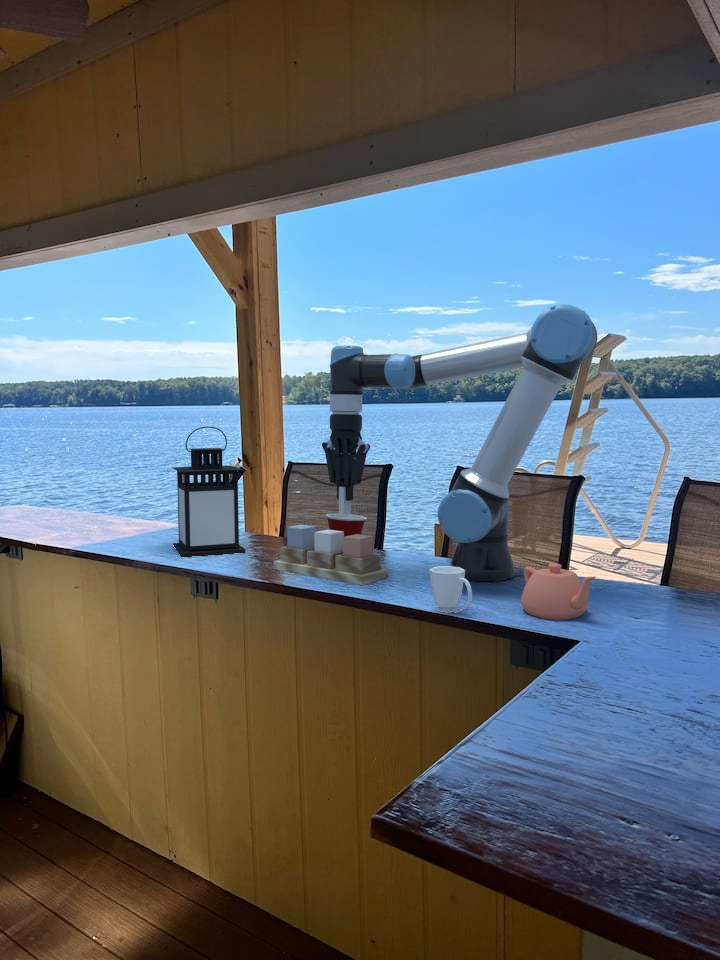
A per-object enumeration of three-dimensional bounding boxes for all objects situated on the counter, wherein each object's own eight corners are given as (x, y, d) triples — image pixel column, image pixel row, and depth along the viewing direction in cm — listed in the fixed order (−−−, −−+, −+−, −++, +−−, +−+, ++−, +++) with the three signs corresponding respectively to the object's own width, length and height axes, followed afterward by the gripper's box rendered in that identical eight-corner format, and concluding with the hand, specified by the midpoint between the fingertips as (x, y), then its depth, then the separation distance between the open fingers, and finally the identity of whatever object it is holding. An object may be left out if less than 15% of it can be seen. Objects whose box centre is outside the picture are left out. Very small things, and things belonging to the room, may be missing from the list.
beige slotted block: (388, 577, 173) (388, 554, 172) (362, 585, 165) (362, 561, 165) (301, 562, 190) (300, 541, 190) (273, 569, 183) (273, 547, 182)
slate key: (316, 550, 183) (315, 526, 183) (302, 553, 179) (302, 528, 179) (301, 547, 186) (301, 524, 186) (287, 550, 183) (287, 526, 182)
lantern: (232, 543, 220) (230, 425, 216) (245, 553, 204) (243, 426, 200) (173, 547, 213) (170, 426, 210) (181, 557, 197) (178, 427, 194)
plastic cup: (372, 562, 190) (372, 516, 189) (331, 565, 187) (331, 518, 186) (360, 555, 200) (360, 511, 199) (321, 557, 198) (321, 512, 196)
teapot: (545, 599, 153) (546, 554, 152) (616, 620, 137) (617, 569, 136) (501, 607, 146) (502, 560, 145) (570, 630, 131) (572, 577, 130)
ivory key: (343, 556, 178) (343, 531, 177) (330, 559, 174) (330, 534, 173) (328, 553, 181) (328, 529, 180) (314, 556, 177) (314, 532, 176)
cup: (447, 603, 149) (447, 564, 148) (483, 614, 141) (484, 572, 140) (421, 609, 145) (421, 568, 144) (457, 620, 137) (457, 577, 136)
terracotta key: (373, 561, 172) (373, 536, 172) (360, 565, 168) (360, 539, 168) (356, 559, 175) (356, 534, 175) (343, 562, 171) (343, 536, 171)
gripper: (378, 413, 170) (376, 515, 172) (334, 413, 178) (333, 509, 180) (358, 413, 164) (356, 518, 166) (314, 412, 172) (313, 513, 174)
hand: (344, 513), depth 173 cm, fingers closed
